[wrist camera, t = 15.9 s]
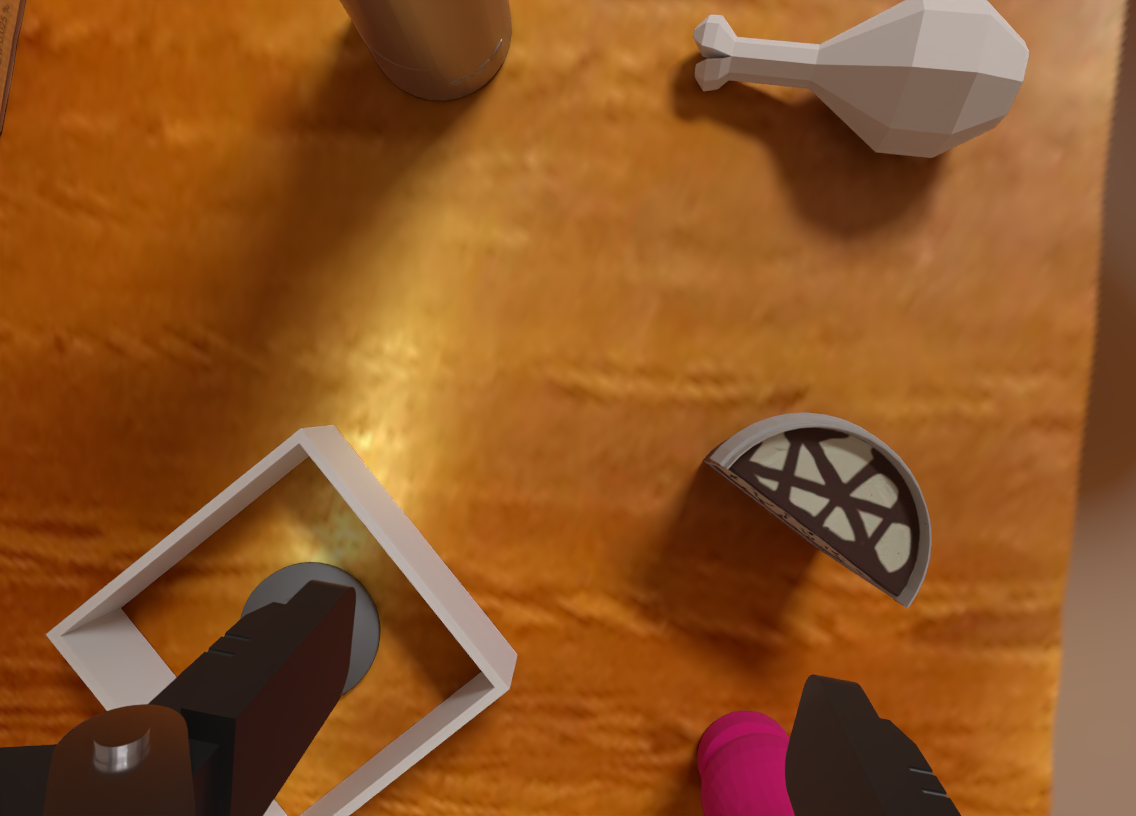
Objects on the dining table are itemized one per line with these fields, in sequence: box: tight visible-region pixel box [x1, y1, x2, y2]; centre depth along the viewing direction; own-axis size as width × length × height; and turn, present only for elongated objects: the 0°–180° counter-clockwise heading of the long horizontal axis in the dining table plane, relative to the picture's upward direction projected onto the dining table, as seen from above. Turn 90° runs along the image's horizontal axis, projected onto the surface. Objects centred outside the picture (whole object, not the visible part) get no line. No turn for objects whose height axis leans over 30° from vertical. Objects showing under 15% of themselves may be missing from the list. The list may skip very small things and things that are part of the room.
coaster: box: [241, 562, 380, 695], centre depth 42 cm, size 9×9×1 cm
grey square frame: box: [46, 425, 518, 816], centre depth 40 cm, size 19×19×5 cm
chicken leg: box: [693, 0, 1029, 158], centre depth 38 cm, size 8×18×8 cm, turn 78°
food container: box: [703, 413, 932, 608], centre depth 37 cm, size 12×6×10 cm, turn 52°
